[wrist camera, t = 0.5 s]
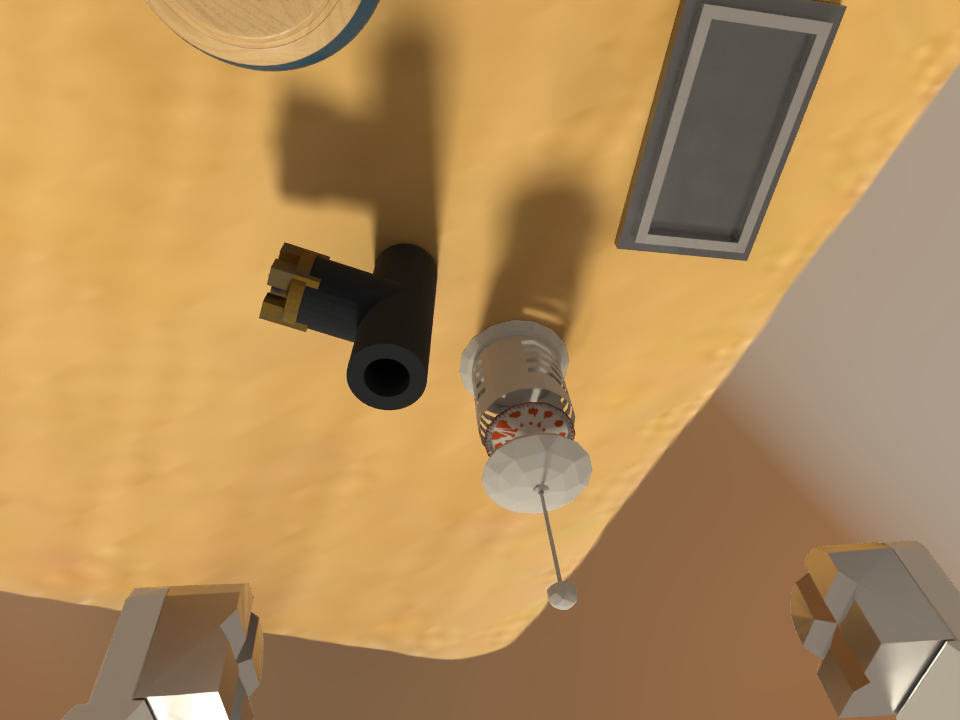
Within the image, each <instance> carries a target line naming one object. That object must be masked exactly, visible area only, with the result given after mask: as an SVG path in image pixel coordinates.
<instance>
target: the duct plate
mask: <svg viewBox="0 0 960 720" xmlns="http://www.w3.org/2000/svg"><path fill="white" fill-rule="evenodd" d="M845 10H846V6H844V5H841V4H836V3H830V2H823V1H817V0H681V1H680V5H679V8H678V12H677V16H676V19H675V23H674V27H673V30H672V34H671V38H670V41H669V45H668V49H667V52H666V56H665V60H664V63H663V67H662V71H661V74H660V78H659V82H658V85H657V89H656V93H655V96H654V100H653V104H652V107H651V111H650V115H649V118H648V122H647V126H646V129H645V133H644V137H643V140H642V144H641V148H640V151H639V155H638V159H637V162H636V166H635V170H634V173H633V177H632V181H631V184H630V188H629V192H628V195H627V199H626V203H625V206H624V210H623V214H622V217H621V221H620V225H619V228H618V232H617V236H616V239H615V245H616V247H617V249H628V250H638V251H649V252H659V253H670V254H680V255H691V256H701V257H712V258H723V259H733V260H744V261H747V259H748V257H749V254H750V252H751V249H752V247H753V244H754V241H755V239H756V236H757V234H758V231H759V229H760V226H761V224H762V221H763V219H764V216H765V213H766V211H767V208H768V206H769V203H770V201H771V198H772V196H773V193H774V191H775V188H776V185H777V183H778V180H779V178H780V175H781V173H782V170H783V168H784V165H785V163H786V160H787V157H788V155H789V152H790V150H791V147H792V145H793V142H794V140H795V137H796V135H797V132H798V129H799V127H800V124H801V122H802V119H803V117H804V114H805V112H806V109H807V106H808V104H809V101H810V99H811V96H812V94H813V91H814V89H815V86H816V84H817V81H818V78H819V76H820V73H821V71H822V68H823V66H824V63H825V61H826V58H827V56H828V53H829V50H830V48H831V45H832V43H833V40H834V38H835V35H836V33H837V30H838V28H839V25H840V22H841V20H842V17H843V15H844V12H845Z"/></svg>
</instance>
